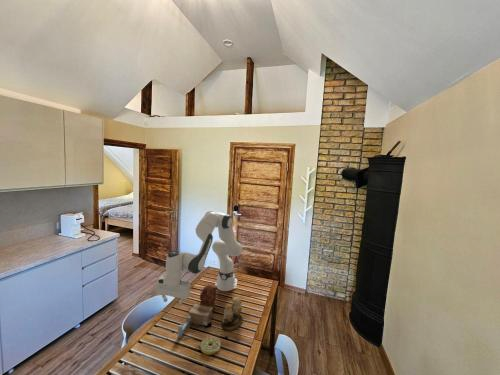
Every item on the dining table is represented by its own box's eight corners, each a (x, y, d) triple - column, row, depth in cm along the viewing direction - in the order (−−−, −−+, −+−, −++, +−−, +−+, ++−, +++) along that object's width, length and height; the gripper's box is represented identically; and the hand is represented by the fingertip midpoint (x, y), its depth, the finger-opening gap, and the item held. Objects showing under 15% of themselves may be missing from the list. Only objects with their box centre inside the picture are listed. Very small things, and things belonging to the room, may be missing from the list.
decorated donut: (222, 353, 120) (223, 346, 119) (202, 359, 115) (203, 352, 115) (217, 339, 129) (217, 333, 129) (198, 344, 125) (198, 338, 124)
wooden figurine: (205, 316, 147) (206, 291, 146) (198, 313, 151) (199, 287, 149) (217, 308, 157) (218, 283, 156) (210, 304, 161) (211, 280, 159)
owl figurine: (232, 311, 154) (234, 288, 153) (247, 318, 148) (248, 294, 147) (216, 327, 139) (217, 301, 137) (232, 335, 133) (233, 308, 131)
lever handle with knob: (187, 323, 140) (187, 313, 139) (191, 324, 139) (191, 314, 139) (176, 338, 127) (177, 327, 127) (181, 339, 127) (181, 328, 126)
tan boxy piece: (194, 313, 150) (194, 303, 150) (212, 317, 148) (213, 307, 147) (184, 327, 137) (185, 316, 136) (204, 331, 134) (204, 320, 134)
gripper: (192, 279, 128) (191, 302, 129) (161, 274, 132) (160, 296, 133) (187, 285, 122) (186, 309, 123) (154, 279, 126) (153, 302, 127)
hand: (172, 302), depth 128 cm, fingers open, 8 cm apart
